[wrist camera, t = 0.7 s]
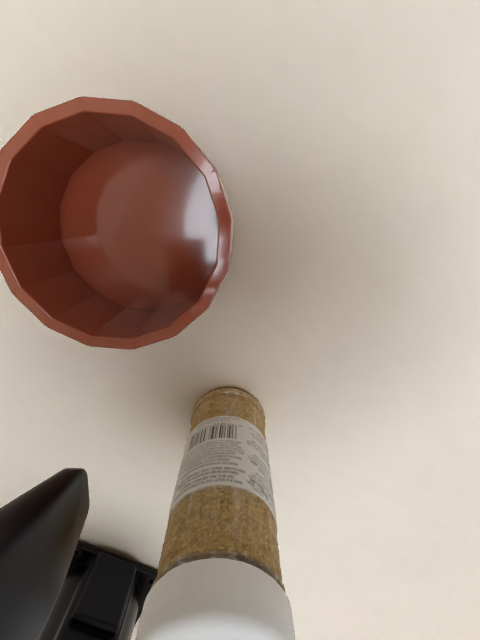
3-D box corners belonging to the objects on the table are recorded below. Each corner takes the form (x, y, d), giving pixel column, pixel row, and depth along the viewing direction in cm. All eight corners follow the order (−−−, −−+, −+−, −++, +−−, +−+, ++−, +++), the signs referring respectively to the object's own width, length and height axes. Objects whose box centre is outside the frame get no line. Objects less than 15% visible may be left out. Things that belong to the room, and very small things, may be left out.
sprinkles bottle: (193, 451, 23) (133, 747, 10) (189, 384, 22) (116, 625, 9) (266, 450, 23) (298, 746, 10) (266, 383, 22) (304, 624, 9)
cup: (187, 342, 21) (170, 384, 16) (31, 268, 20) (-44, 286, 15) (264, 189, 19) (273, 177, 14) (93, 95, 18) (31, 44, 13)
